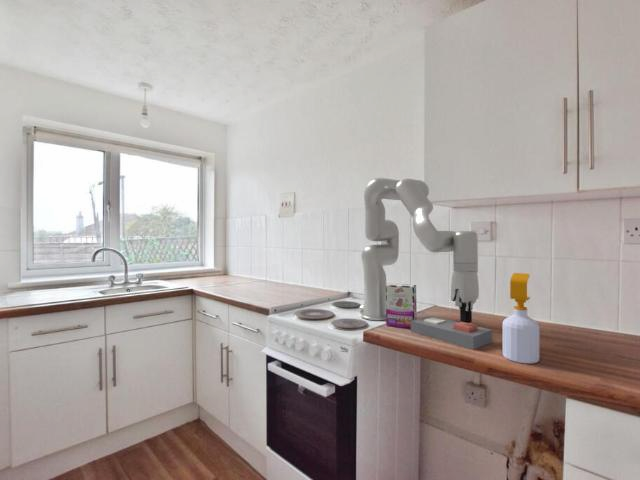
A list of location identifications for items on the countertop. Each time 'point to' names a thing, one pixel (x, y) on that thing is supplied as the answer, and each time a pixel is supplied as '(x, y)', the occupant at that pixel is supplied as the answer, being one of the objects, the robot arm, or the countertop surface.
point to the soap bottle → (520, 326)
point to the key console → (452, 333)
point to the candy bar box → (400, 305)
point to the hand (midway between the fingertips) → (465, 321)
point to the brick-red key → (465, 327)
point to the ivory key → (434, 321)
